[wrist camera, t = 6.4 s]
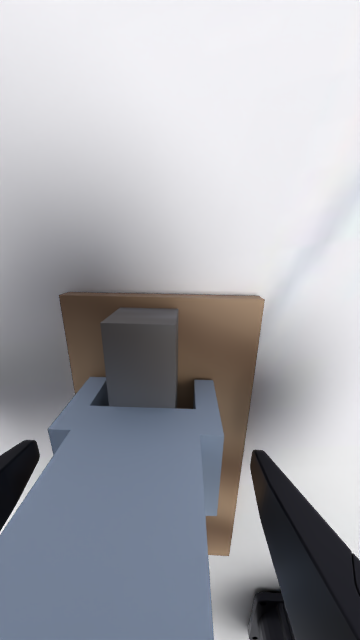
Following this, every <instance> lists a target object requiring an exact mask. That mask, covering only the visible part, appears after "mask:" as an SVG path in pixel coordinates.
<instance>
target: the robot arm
mask: <svg viewBox="0 0 360 640" xmlns="http://www.w3.org/2000/svg"><path fill="white" fill-rule="evenodd" d="M39 457H40V454H39V450H38V446H37V442H36V441H35V440H24V441H22V442H21V443H19V444H18V445H16V446H15V447H13V448H11V449H10V450H8V451H7V452H5V453H4V454H2V455H1V456H0V531H1V529H2V527H3V526H4V524H5V522H6V521H7V519H8V517H9V516H10V514H11V512H12V511H13V509H14V507H15V506H16V504H17V502H18V500H19V498H20V496H21V494H22V492H23V490H24V488H25V486H26V485H27V483H28V481H29V479H30V477H31V475H32V473H33V471H34V469H35V467H36V465H37V463H38V461H39ZM250 469H251V475H252V480H253V485H254V490H255V495H256V500H257V505H258V510H259V515H260V519H261V523H262V527H263V530H264V534H265V537H266V541H267V544H268V548H269V551H270V554H271V558H272V561H273V565H274V568H275V572H276V575H277V579H278V582H279V586H280V589H281V592H282V593H268V592H259V593H257V594H256V595H255V599H254V604H253V608H252V613H251V617H250V622H249V626H248V635H249V639H250V640H360V560H359V559H358V558H357V557H356V556H355V554H353V553H352V552H351V550H350V549H349V548H348V546H347V545H346V544H345V543H344V542H343V541H342V540H341V538H340V537H339V536H338V535H337V534H336V533H335V532H334V530H333V529H332V528H331V527H330V526H329V525H328V524H327V522H326V521H325V520H324V519H323V518H322V517H321V516H320V514H319V513H318V512H317V511H316V510H315V509H314V508H313V506H312V505H311V504H310V503H309V502H308V501H307V500H306V498H305V497H304V496H303V495H302V494H301V493H300V491H299V490H298V489H297V488H296V487H295V486H294V485H293V483H292V482H291V481H290V480H289V479H288V478H287V477H286V475H285V474H284V473H283V472H282V471H281V470H280V469H279V467H278V466H277V465H276V464H275V463H274V462H273V461H272V459H271V458H270V457H269V456H268V455H267V454H266V453H265V452H264V451H263V450H253V452H252V457H251V464H250Z"/></svg>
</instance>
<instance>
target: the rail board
mask: <svg viewBox="0 0 360 640" xmlns="http://www.w3.org/2000/svg"><path fill="white" fill-rule="evenodd" d="M59 298H60V304H61V311H62V317H63V323H64V329H65V335H66V341H67V347H68V354H69V360H70V366H71V372H72V378H73V384H74V390H75V395H76V393H77V392H78V391H79V390H80V389H81V387H82V386H83V385H84V384H85V382H86V381H87V380H88V379H89V377H106V382H107V391H108V400H109V406H113V407H144V408H175V409H193V404H194V380H213V382H214V387H215V392H216V397H217V402H218V407H219V412H220V417H221V422H222V427H223V432H224V443H223V454H222V465H221V476H220V487H219V498H218V509H217V516H206V531H207V546H208V555H221V556H229V552H230V545H231V538H232V531H233V524H234V516H235V509H236V502H237V495H238V488H239V480H240V473H241V466H242V459H243V452H244V445H245V437H246V430H247V423H248V416H249V409H250V401H251V394H252V387H253V380H254V373H255V365H256V358H257V351H258V344H259V337H260V330H261V322H262V315H263V308H264V301H265V299H263V298H261V297H260V296H236V295H187V294H139V293H91V292H67V293H64V294H61V295H59Z"/></svg>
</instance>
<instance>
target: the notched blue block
mask: <svg viewBox="0 0 360 640" xmlns="http://www.w3.org/2000/svg"><path fill="white" fill-rule="evenodd" d="M48 433H49V437H50V441H51V446H52V450H53V454H54V456H53V457H52V459H51V460H50V462H49V463H48V465H47V466H46V468H45V469H44V471H43V472H42V474H41V475H40V476H39V478H38V479H37V481H36V482H35V484H34V485H33V487H32V488H31V490H30V491H29V493H28V494H27V496H26V497H25V499H24V500H23V502H22V503H21V505H20V506H19V508H18V509H17V511H16V512H15V514H14V515H13V517H12V518H11V520H10V521H9V523H8V524H7V526H6V527H5V529H4V530H3V532H2V533H1V535H0V640H214V636H213V621H212V606H211V591H210V576H209V561H208V546H207V531H206V516H217V509H218V498H219V487H220V476H221V465H222V454H223V443H224V432H223V427H222V422H221V417H220V412H219V407H218V402H217V397H216V392H215V387H214V382H213V380H194V404H193V409H175V408H144V407H113V406H109V400H108V391H107V382H106V377H89V379H88V380H87V381H86V382H85V384H84V385H83V386H82V387H81V389H80V390H79V391H78V392H77V393H76V395H75V396H74V397H73V398H72V400H71V401H70V402H69V403H68V405H67V406H66V407H65V408H64V410H63V411H62V412H61V413H60V415H59V416H58V417H57V418H56V420H55V421H54V422H53V423H52V425H51V426H50V427H49V428H48Z"/></svg>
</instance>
